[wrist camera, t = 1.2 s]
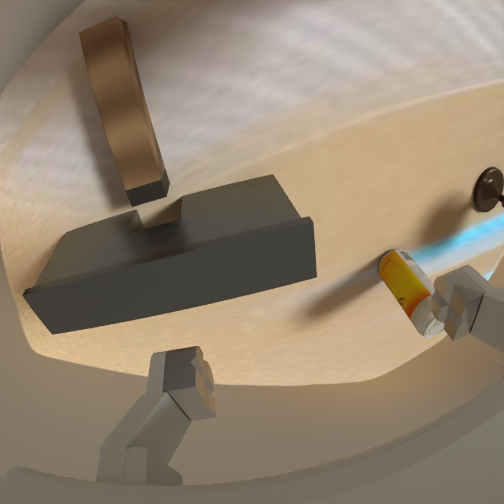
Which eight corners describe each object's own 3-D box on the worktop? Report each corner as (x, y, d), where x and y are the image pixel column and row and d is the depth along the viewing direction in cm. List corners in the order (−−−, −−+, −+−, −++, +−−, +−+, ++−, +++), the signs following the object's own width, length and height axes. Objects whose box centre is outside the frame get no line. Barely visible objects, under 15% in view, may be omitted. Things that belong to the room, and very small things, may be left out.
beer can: (371, 276, 47) (414, 343, 35) (383, 246, 44) (435, 311, 32) (398, 275, 48) (442, 336, 36) (410, 246, 45) (462, 306, 33)
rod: (92, 36, 21) (79, 32, 18) (126, 22, 22) (116, 16, 18) (138, 192, 33) (132, 207, 30) (169, 183, 33) (166, 196, 30)
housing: (61, 230, 34) (22, 295, 23) (276, 169, 34) (313, 221, 24) (80, 265, 37) (52, 334, 26) (283, 213, 38) (316, 277, 27)
